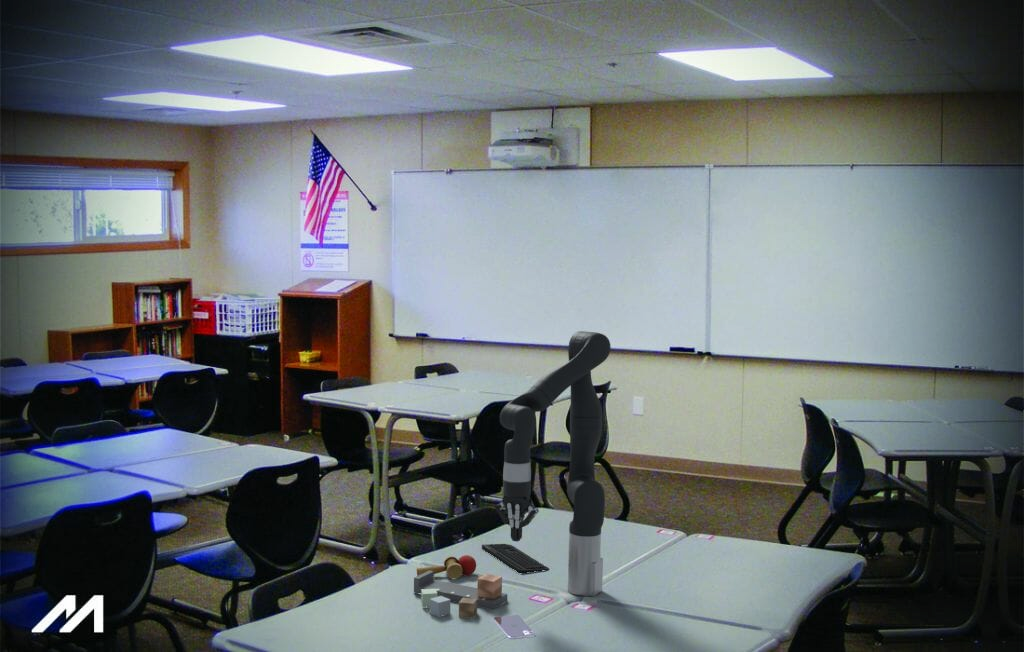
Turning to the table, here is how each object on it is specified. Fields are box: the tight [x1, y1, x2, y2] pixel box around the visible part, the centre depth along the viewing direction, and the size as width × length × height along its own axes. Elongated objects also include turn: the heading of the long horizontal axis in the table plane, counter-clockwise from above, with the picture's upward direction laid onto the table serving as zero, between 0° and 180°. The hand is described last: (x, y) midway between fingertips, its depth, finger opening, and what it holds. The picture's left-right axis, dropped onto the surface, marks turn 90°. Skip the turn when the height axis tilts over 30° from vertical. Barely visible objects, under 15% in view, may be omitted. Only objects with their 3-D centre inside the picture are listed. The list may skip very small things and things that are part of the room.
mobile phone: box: [492, 614, 537, 640], centre depth 258 cm, size 8×1×15 cm
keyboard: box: [481, 543, 550, 574], centre depth 318 cm, size 30×11×2 cm, turn 25°
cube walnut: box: [458, 597, 478, 619], centre depth 266 cm, size 4×4×4 cm
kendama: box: [416, 554, 477, 579], centre depth 299 cm, size 8×6×18 cm
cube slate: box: [428, 596, 451, 618], centre depth 267 cm, size 4×4×4 cm
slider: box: [476, 573, 503, 599], centre depth 275 cm, size 5×5×5 cm
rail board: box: [413, 570, 508, 610], centre depth 280 cm, size 26×8×4 cm, turn 62°
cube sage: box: [420, 589, 437, 607], centre depth 273 cm, size 4×4×4 cm
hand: (516, 540), depth 271 cm, fingers closed
